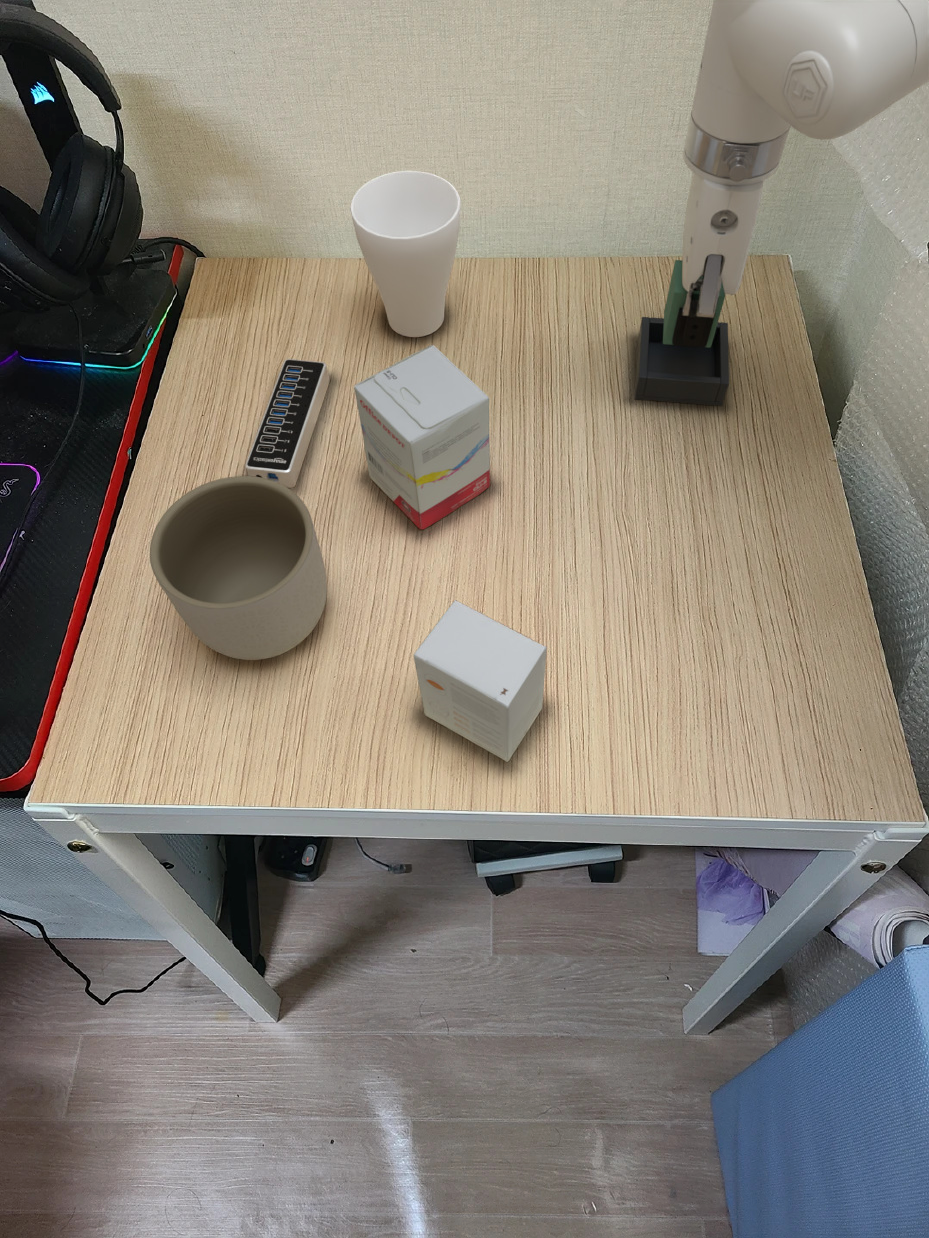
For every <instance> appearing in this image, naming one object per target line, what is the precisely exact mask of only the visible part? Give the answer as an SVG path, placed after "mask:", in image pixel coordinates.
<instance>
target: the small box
mask: <svg viewBox="0 0 929 1238" xmlns="http://www.w3.org/2000/svg"><path fill="white" fill-rule="evenodd" d="M413 660H414V664H415V665H414V667H415V670H416V671H415V672H416V676H417V677H416V678H417V681H418V688H419V692H420V698H421V703H422V707H423V713H424V715H425V717H427V718H429V719H431V720H433V721H435V722H436V723H438V724H440V725H442V726H443V727H445V728H447V729H448V730H449V731H452V732H454V733H456V734H457V735H459V736H461V737H462V738H464V739H466V740H467V741H469V742H471V743H473V744H475V745H476V746H478V747H480V748H482V749H484V750H485V751H487V752H489V753H491V754H492V755H494V756H496V757H498V758H500V759H501V760H503V761H505V762H506V763H507V762H509V761H510V759H511V758H512V756H513V755H514V753H515V752H516V750H517V749H518V747H519V746H520V744H521V743H522V741H523V739H524V738H525V736H526V734H527V733H528V732H529V730H530V728H531V727H532V726H533V724H534V722H535V721H536V719H537V717H538V716H539V714H540V712H541V711H542V709H543V704H544V703H543V702H544V688H545V677H546V675H545V674H546V665H547V664H546V663H547V646H546V645H545V644H542V643H540V642H538V641H536V640H534V639H532V638H530V637H528V636H527V635H525V634H523V633H520V632H519V631H517V630H515V629H513V628H512V627H509V626H507V625H505V624H503V623H501V622H499V621H497V620H495V619H493V618H492V617H490V616H488V615H486V614H484V613H482V612H480V611H478V610H476V609H474V608H472V607H470V606H468V605H466V604H464V603H462V602H461V601H459V600H458V599H454V601H452V603H451V604H450V605H449V607H448V608H447V609H446V611H445V612H444V613H443V614H442V616H441V617H440V619H439V620H438V621H437V623H436V624H435V626H433V628H432V629H431V630H430V632H429V633H428V635H427V636H426V637H425V638H424V640H423V641H422V642H421V644H420V645H419V647H418V648H417V649H416V651H415V652H414V653H413Z"/></svg>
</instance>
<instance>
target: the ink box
mask: <svg viewBox="0 0 929 1238" xmlns="http://www.w3.org/2000/svg"><path fill="white" fill-rule="evenodd" d="M353 388H354V395H355V399H356V404H357V406H356V407H357V410H358V411H357V412H358V417H359V422H360V427H361V432H362V440H363V445H364V452H365V458H366V464H367V470H368V476H369V478H370V479H371V481H373V482H374V483H375V485H377V487H378V488H379V489H380V490H381V491H382V492H383V493H384V494H385V495H386V496H387V498H389V499H390V500H391V501H392V503H394V504H395V505H396V506H397V507H398V509H400V510H401V511H402V512H403V513H404V514H405V516H406V517H407V518H408V519H409V520H410V521H411V522H412V523H413V524H414V525H415V526H416V527H417V528H418V529H419V530H425V529H427V528H428V527H430V526H432V525H434V524H436V523H438V522H439V521H440V520H442V519H443V518H445V517H447V516H448V515H450V514H451V513H453V512H454V511H456V510H457V509H460V507H463V506H464V505H465V504H467V503H468V502H470V501H471V500H473V499H475V498H476V497H478V496H479V495H481V494H482V493H483V492H484V491H486V490H487V489H489V488H490V487H491V470H490V469H491V458H490V455H491V453H490V451H491V450H490V448H491V447H490V397H489V396H488V395H487V394H486V393H485V392H484V390H482V389H481V388H480V387H479V386H478V385H477V384H476V383H475V382H473V380H472V379H470V378H469V377H468V376H467V375H466V374H465V373H464V372H463V371H462V370H461V369H460V368H459V367H457V366H456V365H455V364H454V363H453V362H452V360H450V359H449V358H448V357H447V356H446V355H445V354H443V353H442V351H440V350H439V348H437V347H436V346H435V345H434V344H431V345H429V346H427V347H424V348H422V349H420V350H418V351H416V352H414V353H412V354H410V355H408V356H406V357H404V358H402V359H400V360H399V361H397V362H394V363H393V364H391V365H390V366H388V367H386V368H384V369H382V370H380V371H378V372H377V373H375V374H372V375H370V376H369V377H367V378H365V379H363V380H362V381H360V382H358V383H356V384H354V386H353Z"/></svg>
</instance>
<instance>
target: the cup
mask: <svg viewBox="0 0 929 1238" xmlns="http://www.w3.org/2000/svg"><path fill="white" fill-rule="evenodd" d="M461 207H462V200H461V197H460V194H459V191H458V190H457V189H456V188H455V186H454V185H453V184H452V183H451V182H449V181H448V180H446V179H445V178H443V177H441V176H439V175H437V174H434V173H431V172H426V171H420V170H399V171H393V172H388V173H385V174H381V175H378V176H376V177H374V178H372V179H370V180H368V181H367V182H365V183H364V184H363V185H362V186H361V187H359V188H358V189H357V190H356V191H355V194H354V195H353V196H352V198H351V201H350V206H349V210H350V211H349V212H350V215H351V219H352V224H353V228H354V232H355V236H356V240H357V243H358V246H359V249H360V251H361V254H362V256H363V259H364V261H365V262H364V263H365V264H366V266H367V269H368V271H369V273H370V275H371V277H372V279H373V282H374V283H375V285H376V288H377V290H378V293H379V295H380V298H381V300H382V303H383V306H384V309H385V313H386V317H387V320H388V321H387V322H388V325H389V327H390V328H391V330H393V331H394V332H395V333H397V334H399V335H401V336H403V337H407V338H419V337H420V338H421V337H425V336H428V335H431V334H433V333H434V332H436V331H438V329H440V328H441V326H442V325H443V322H444V320H445V306H446V296H447V290H448V287H449V286H448V285H449V281H450V276H451V273H452V269H453V266H454V263H455V257H456V252H457V246H458V245H457V244H458V241H459V233H460V226H461V209H462V208H461Z"/></svg>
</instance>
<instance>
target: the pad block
mask: <svg viewBox="0 0 929 1238" xmlns="http://www.w3.org/2000/svg"><path fill="white" fill-rule="evenodd" d="M699 279H702V276H700V277H699ZM669 282H670V283H669V287H668V291H667V296H666V300H665V301H666V302H665V306H664V310H663V318H664V328H663V344H669V345H673V344H672V338H673V334H674V329H675V325H676V321H677V316H678V312H679V308H683V305H684V300H685V295H686V290H685V288H684V287H683V284H682V259H675V260H674V263H673V269H672V274H671V279H670V281H669ZM699 296H700V291H694V293H693V298H692V301H693V300H699ZM725 299H726V294H725V292H724V288H723V283H722V284H721V289H720V292H719V297H718V301H717V306H716V310H715V317H714V321H713V324H712V328H711V331H710V335H709V339H708V342H707V345H706V347H708V348H711V345H712V341H713V338H714V334H715V331H716V327H717V323H718V322H719V320H720V317H721V312H722V309H723V305H724V302H725Z"/></svg>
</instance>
